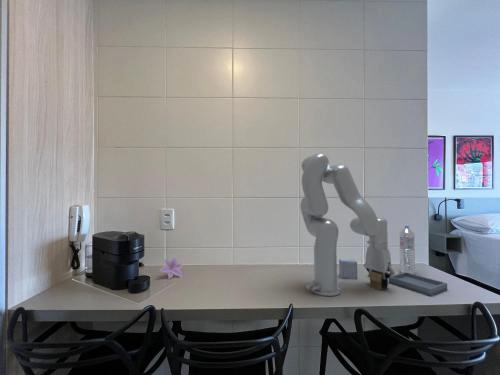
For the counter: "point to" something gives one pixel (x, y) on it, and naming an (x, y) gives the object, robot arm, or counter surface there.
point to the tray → (418, 283)
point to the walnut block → (376, 280)
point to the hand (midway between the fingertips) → (378, 284)
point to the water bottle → (407, 251)
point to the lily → (172, 267)
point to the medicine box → (348, 268)
